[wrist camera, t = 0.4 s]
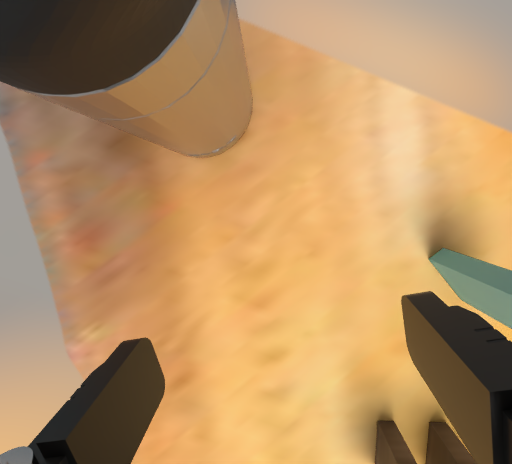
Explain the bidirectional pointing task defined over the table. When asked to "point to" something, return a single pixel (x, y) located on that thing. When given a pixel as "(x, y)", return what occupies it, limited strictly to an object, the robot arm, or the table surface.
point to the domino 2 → (477, 283)
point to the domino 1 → (391, 445)
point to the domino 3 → (445, 446)
